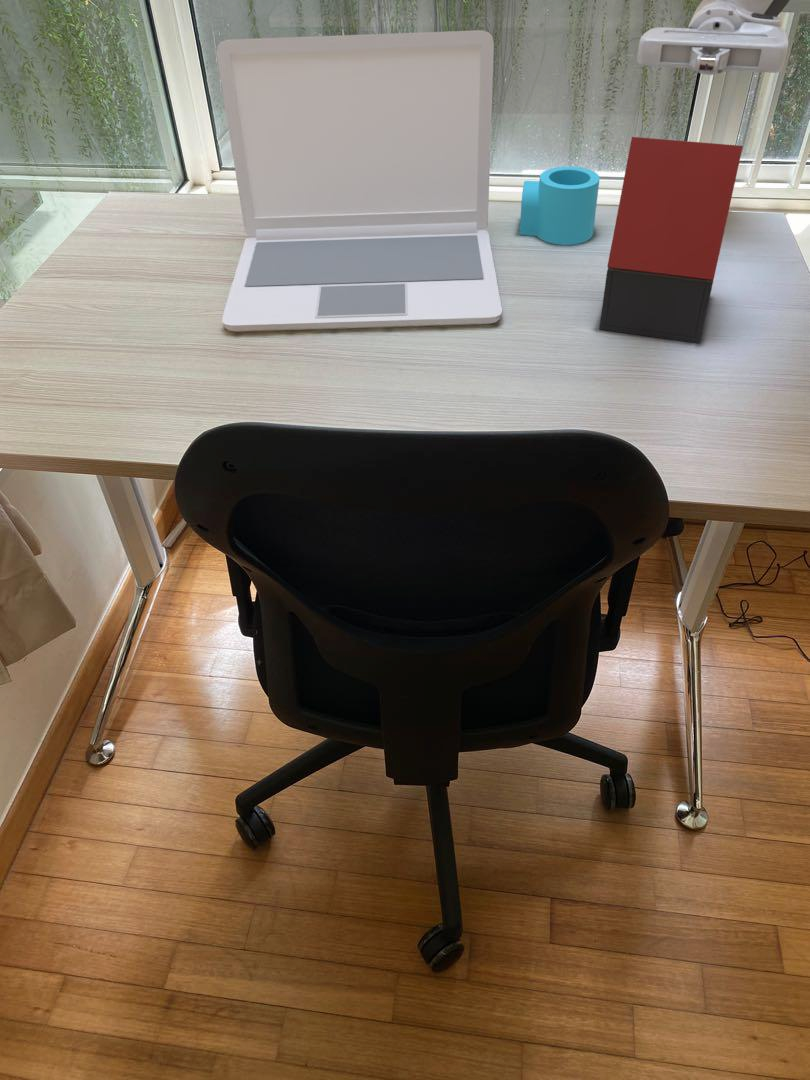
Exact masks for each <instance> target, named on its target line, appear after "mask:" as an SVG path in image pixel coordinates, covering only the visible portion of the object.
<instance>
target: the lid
mask: <svg viewBox="0 0 810 1080" xmlns="http://www.w3.org/2000/svg"><path fill="white" fill-rule="evenodd" d="M743 147H744V146H743V145H740V144H739V145H738V144H725V143H712V142H701V141H690V140H689V141H687V140H678V139H677V140H676V139H665V138H664V139H663V138H652V137H641V136H632V137H631V140H630V145H629V150H628V155H627V161H626V166H625V172H624V178H623V183H622V187H621V192H620V197H619V202H618V203H619V204H618V209H617V214H616V218H615V225H614V230H613V234H612V235H613V236H612V240H611V245H610V251H609V255H608V262H607V267H606V268H607V269H608V268H616V269H624V270H632V271H640V272H649V273H657V274H665V275H673V276H682V277H690V278H698V279H706V280H713V281H714V280H715V275H716V271H717V267H718V261H719V256H720V254H721V253H720V252H721V247H722V244H723V240H724V239H723V238H724V234H725V230H726V225H727V222H728V221H727V220H728V216H729V212H730V206H731V202H732V197H733V193H734V189H735V185H736V179H737V174H738V170H739V166H740V161H741V156H742V151H743Z"/></svg>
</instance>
